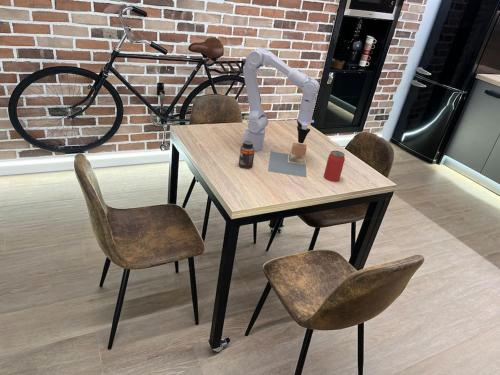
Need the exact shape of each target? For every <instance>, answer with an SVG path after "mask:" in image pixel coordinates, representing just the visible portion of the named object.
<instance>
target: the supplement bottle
mask: <svg viewBox="0 0 500 375" xmlns="http://www.w3.org/2000/svg"><path fill="white" fill-rule="evenodd" d="M242 143H243V145H241V146H240V149H239V158H238V167H240V168H241V169H245V170H248V169H249V170H251V169H252V168H253V167H254V159H255V152H256V151H255V148H254V147H253V142H252V141H248V140H246V141H244V142H243V141H242Z"/></svg>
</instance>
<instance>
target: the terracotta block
mask: <svg viewBox="0 0 500 375" xmlns="http://www.w3.org/2000/svg"><path fill="white" fill-rule="evenodd" d="M307 146H308V145H307V144H304V143H298V142H292V146H291V150H292V151H291V150H290V154H292V155H299V156H305V157H306V153H307V150H308V147H307Z"/></svg>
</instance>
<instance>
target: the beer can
mask: <svg viewBox="0 0 500 375" xmlns="http://www.w3.org/2000/svg"><path fill="white" fill-rule="evenodd" d="M345 157H346V156H345V152H342V151H340V150H331V152H330V153H329V155H328V157H327V161H326V166H325V169H324V174H323V179H324V180H327V181H328V182H331V183H333V182H334V183H335V182H339V181H340V178H341V175H342V172H343V169H344V168H343V167H344V164H345V161H346V158H345Z"/></svg>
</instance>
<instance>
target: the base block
mask: <svg viewBox="0 0 500 375" xmlns="http://www.w3.org/2000/svg"><path fill="white" fill-rule="evenodd" d="M291 151H292V149H291V150H290V152H291ZM289 154H290V162H297V163H303V164H304V159H305V160H306V155H305V156H299V155H292V154H291V153H289Z"/></svg>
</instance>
